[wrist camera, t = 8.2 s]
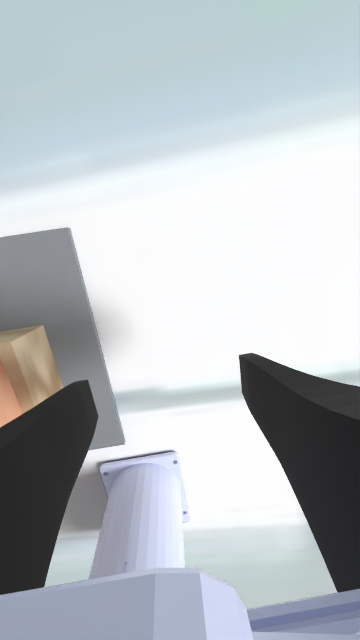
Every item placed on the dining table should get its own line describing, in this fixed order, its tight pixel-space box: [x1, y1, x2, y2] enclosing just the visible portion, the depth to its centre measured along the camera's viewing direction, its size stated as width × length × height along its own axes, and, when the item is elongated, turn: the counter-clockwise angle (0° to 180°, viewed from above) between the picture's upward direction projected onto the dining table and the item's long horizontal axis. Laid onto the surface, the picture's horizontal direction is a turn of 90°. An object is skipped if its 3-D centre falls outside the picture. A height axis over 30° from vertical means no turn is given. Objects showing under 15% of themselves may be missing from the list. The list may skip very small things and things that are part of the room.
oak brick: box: [0, 325, 63, 413], centre depth 18 cm, size 8×6×4 cm
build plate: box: [0, 228, 125, 450], centre depth 20 cm, size 20×16×1 cm
